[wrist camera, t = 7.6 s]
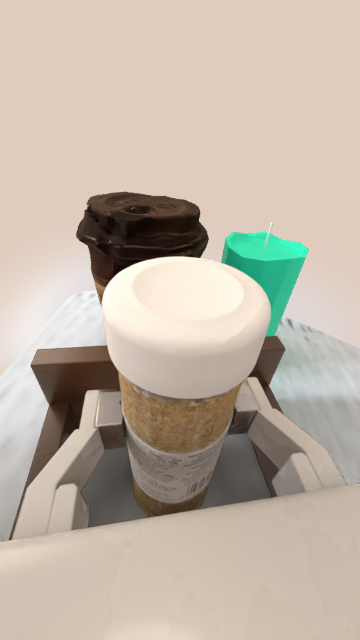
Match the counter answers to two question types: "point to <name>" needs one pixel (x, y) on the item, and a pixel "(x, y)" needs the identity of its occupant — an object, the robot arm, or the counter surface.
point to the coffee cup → (138, 232)
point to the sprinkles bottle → (180, 369)
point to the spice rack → (100, 373)
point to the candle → (267, 266)
